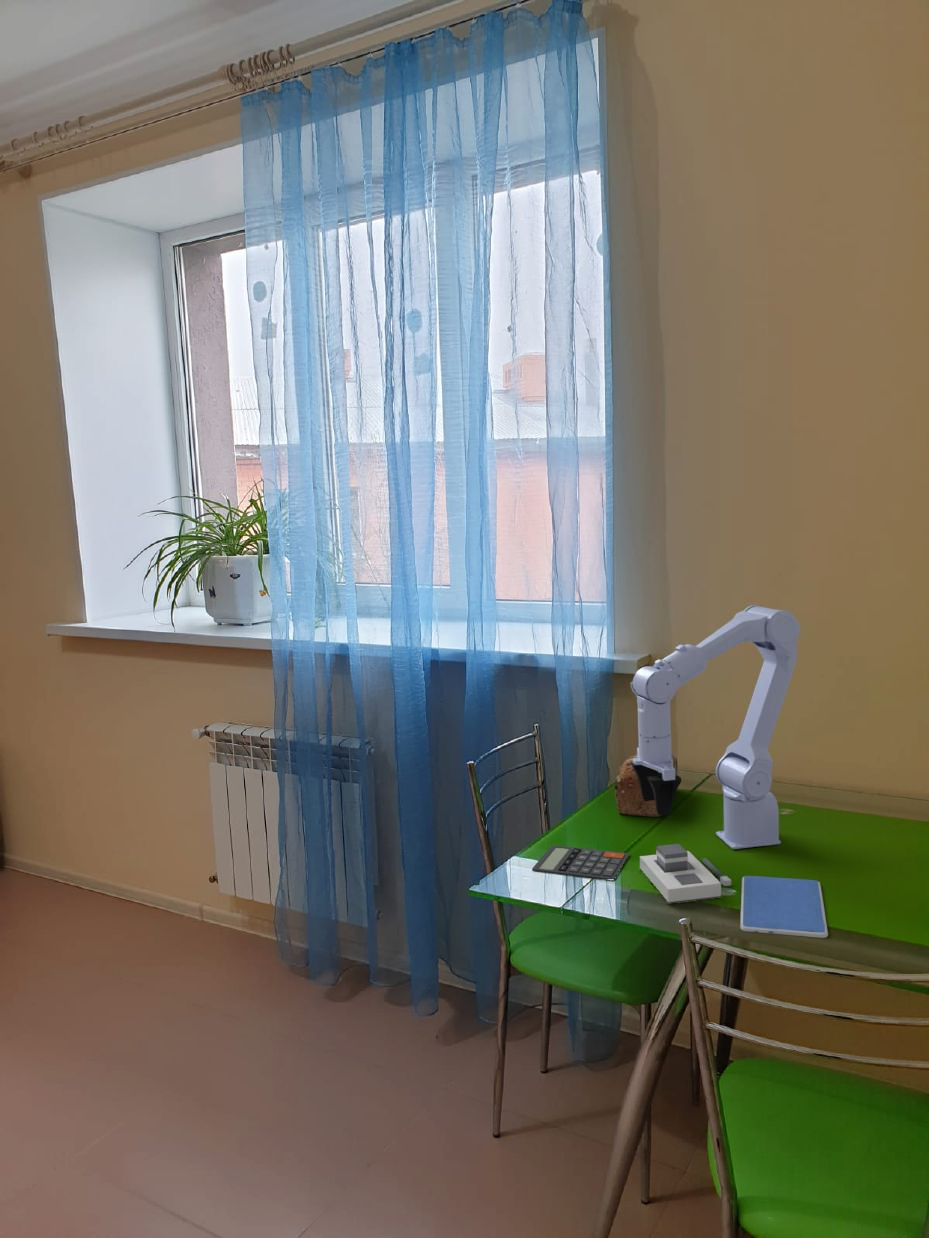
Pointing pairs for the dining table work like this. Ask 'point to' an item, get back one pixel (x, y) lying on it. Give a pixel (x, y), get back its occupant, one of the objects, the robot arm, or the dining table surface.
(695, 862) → the switch plate
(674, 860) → the block
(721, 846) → the dining table surface
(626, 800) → the bread
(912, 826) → the dining table surface
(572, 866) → the calculator
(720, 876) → the cable
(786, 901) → the tablet computer
